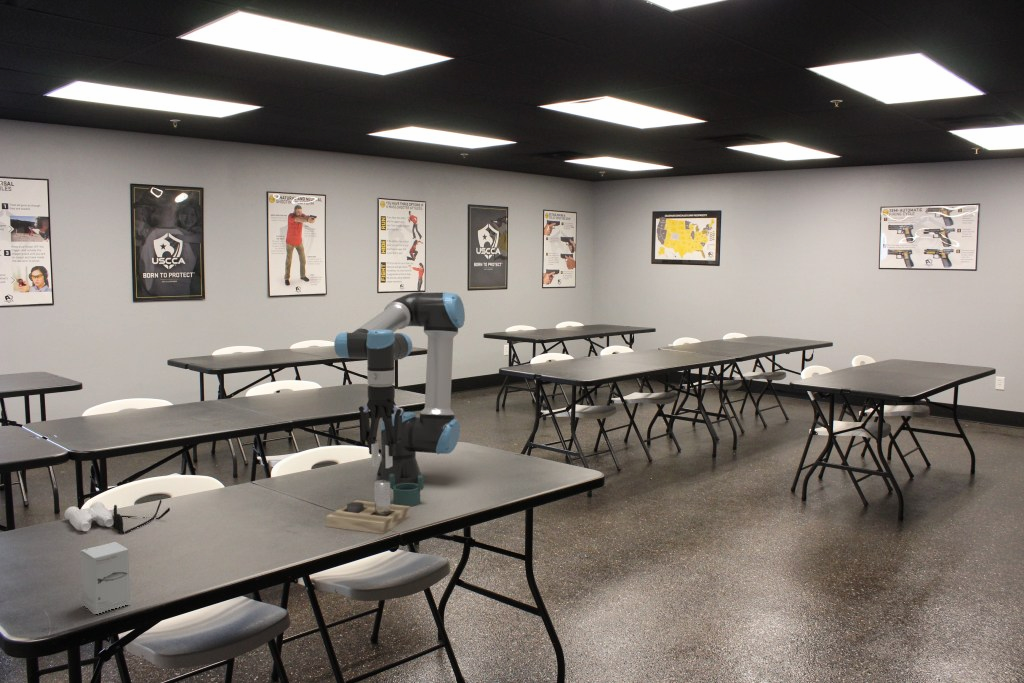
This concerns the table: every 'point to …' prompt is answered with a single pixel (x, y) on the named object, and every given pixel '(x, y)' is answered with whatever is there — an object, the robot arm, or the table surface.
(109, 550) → the supplement box
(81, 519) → the binoculars
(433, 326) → the robot arm
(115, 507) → the sunglasses
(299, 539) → the table surface
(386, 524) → the jig
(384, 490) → the metal cylinder
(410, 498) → the bracket
